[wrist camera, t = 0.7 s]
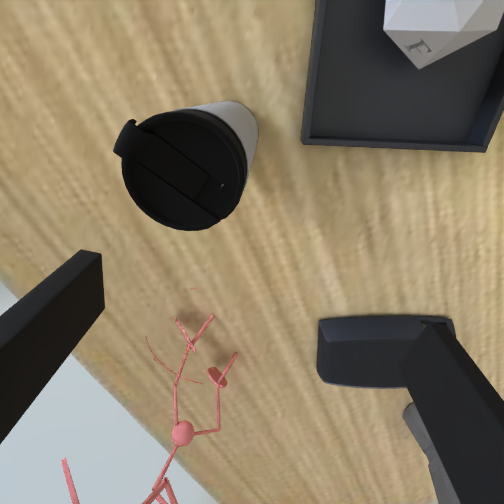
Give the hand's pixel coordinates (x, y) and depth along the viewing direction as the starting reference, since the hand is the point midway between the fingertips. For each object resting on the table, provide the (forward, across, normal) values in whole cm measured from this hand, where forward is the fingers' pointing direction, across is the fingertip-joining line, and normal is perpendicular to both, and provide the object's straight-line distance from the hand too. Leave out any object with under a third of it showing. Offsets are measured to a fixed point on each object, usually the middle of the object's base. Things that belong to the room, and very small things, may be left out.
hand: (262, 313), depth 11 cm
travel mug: (+25, -5, +3) cm, 26 cm away
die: (+25, +10, +17) cm, 31 cm away
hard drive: (+25, +24, -23) cm, 42 cm away
